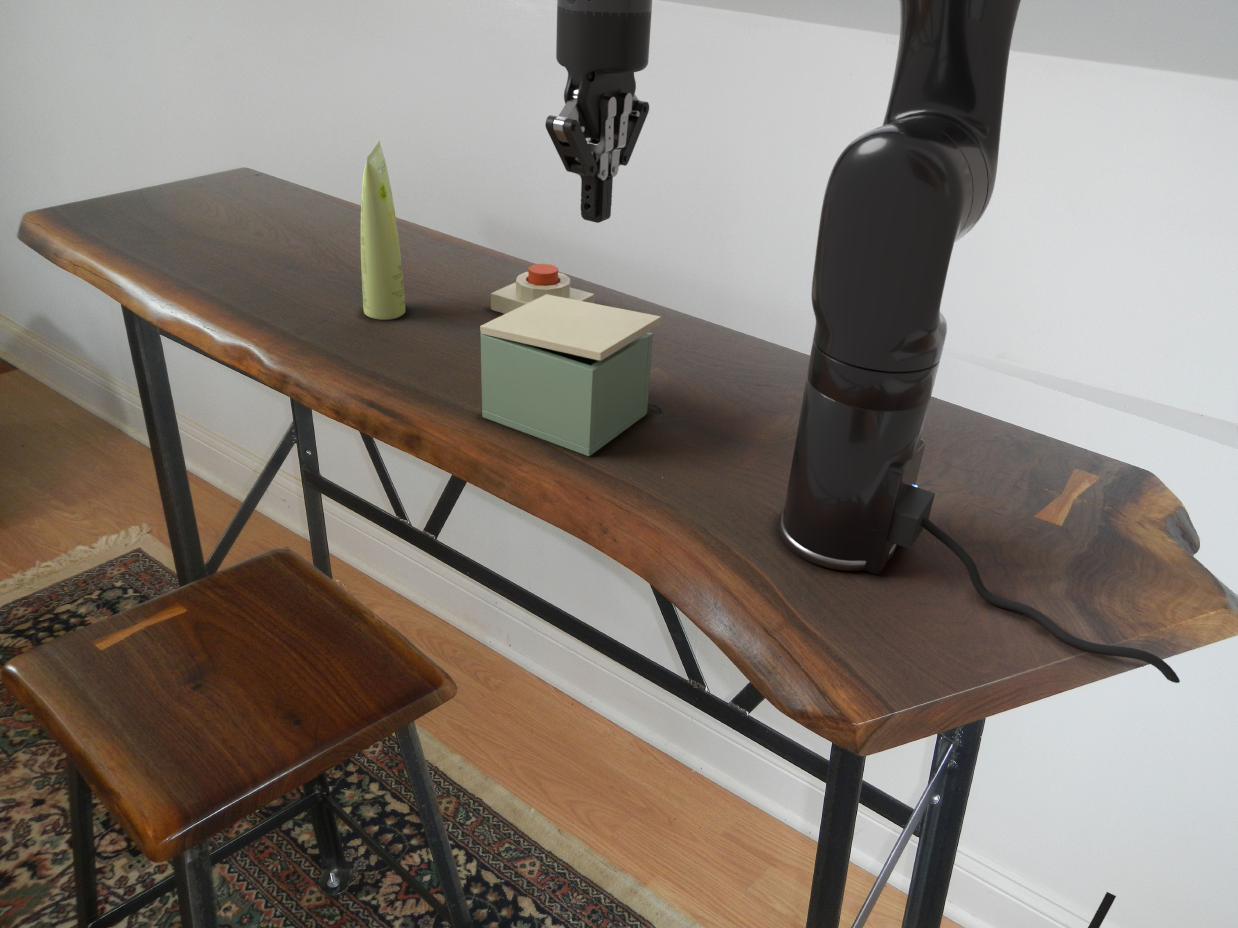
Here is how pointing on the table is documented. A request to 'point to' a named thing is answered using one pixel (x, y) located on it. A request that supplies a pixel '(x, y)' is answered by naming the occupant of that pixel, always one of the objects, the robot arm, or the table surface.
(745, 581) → the table surface
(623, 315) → the lid
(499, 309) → the button box
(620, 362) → the chest
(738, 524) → the table surface
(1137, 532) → the table surface
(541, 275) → the button
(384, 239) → the tube
